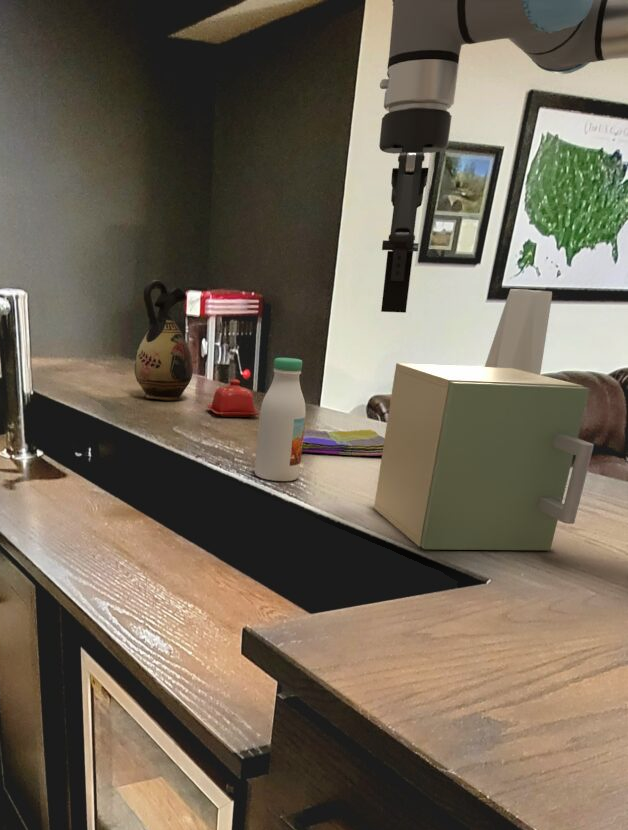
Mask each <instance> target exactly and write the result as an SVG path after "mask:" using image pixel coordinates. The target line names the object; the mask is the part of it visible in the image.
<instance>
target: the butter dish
mask: <svg viewBox="0 0 628 830" xmlns="http://www.w3.org/2000/svg"><path fill="white" fill-rule="evenodd" d="M240 383H241V381H240V380H239V379H237V378H233V379H230V380H229V384H230V385H226V386H221V387H219V388H217V389H216V390H215V392H214V395H213V399H212V403H211V404H206V405H205V407H206V408H208V409H209V410H211V411H212V412H213V413H214V414H216V415H219V416H220V417H225V418H226V417H233V418H235V417H236V418H239V417H240V418H250V417H252V416H257V415H260V411H259V410H257V409H256V408H255V402H254V396H253V393H252V392H251V391H250V390H249V389H248V388H246V387H242V386H240V385H239V384H240Z"/></svg>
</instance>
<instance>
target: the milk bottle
mask: <svg viewBox="0 0 628 830" xmlns="http://www.w3.org/2000/svg"><path fill="white" fill-rule="evenodd" d="M302 369H303V360H302V359H299V358H294V357H292V358H291V357H275V358H274V360H273V372H274V373H273V379H272V381H271V384H270V386H269V388H268V390H267V392H266V393H265V395H264V397H263V399H262V403H261V406H260V411H259V412H260V413H259V419H258V428H257V436H256V437H257V438H256V447H255V448H256V449H255V457H254V469H253V471H254V474H255V476H257V478H261V479H263V480H267V481H274V482H291V481H295V480H297V479H298V478H299V475H300V470H301V461H302V453H303V452H302V445H303V436H304V429H305V427H306V412H307V410H306V409H307V408H306V402H305V401H306V400H305V398H304V395H303V392H302V388H301V383H300V375H301V374H302Z"/></svg>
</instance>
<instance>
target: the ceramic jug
mask: <svg viewBox="0 0 628 830" xmlns="http://www.w3.org/2000/svg"><path fill="white" fill-rule="evenodd" d="M156 289H157V290H160V294H159V296H158V297H157V299H156V300H155V302H154V303H153V299H152V291H153V290H156ZM186 300H187V295H186V293H185V291H183V290H182V289H181V288H180V287H179V286H175V287H174V288H173V287H170V288H169V289H168V286H167V284H165V282H163V281H161V280H159V279H151V280H149V281H148V282H146V283H145V286H144V288H143V301H144V305H145V309H146V312H147V318H148V320H149V321H148V323H149V326H148V331H147V332H146V334H145V335H144V337H143V339H142V340H141V342H140V344H139V347H138V348H137V352H136V355H135V360H134V376H135V380H136V382H137V383H138V385H139V386H140V387H141V390H142V391H143V392H144V393H145V398H146V399H154V400H161V401H181V396H182V395H183V393H184V392H185V390H186V389H187V388H188V386H189V384H190V383H191V380H192V378H193V372H194V365H193V357H192V354H191V350H190V347H189V345H188V343H187V341H186V339H185V337H184V335H183V333H182V331H181V330H180V327H179V326H178V324H177V323H176V321H175V320H174V318H173V313H172V309H173V308H174V307H175V306H177V305H179V304H181V303H183V302H185V301H186ZM154 307H157V308H158V313H157V315H156V312H155V309H154ZM136 401H137V400H136Z"/></svg>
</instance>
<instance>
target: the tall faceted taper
mask: <svg viewBox="0 0 628 830" xmlns="http://www.w3.org/2000/svg"><path fill="white" fill-rule="evenodd" d="M552 298H553V291H550V290H535V289H534V290H532V289H519V288H517V289H516V288H510V290H509V292H508V295H507V298H506V301H505V304H504V306H503V309H502V312H501V315H500V319H499V322H498V324H497V328H496V331H495V334H494V337H493V340H492V343H491V345H490V349H489V352H488V356H487V358H486V361H485V364H484V367H495V368H513V369H517V370H521V371H526V372H530V373H534V374H538V375H541V372H542V367H543V359H544V352H545V346H546V341H547V340H546V339H547V333H548V332H547V331H548V325H549V318H550V314H551V313H550V312H551V305H552Z"/></svg>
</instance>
